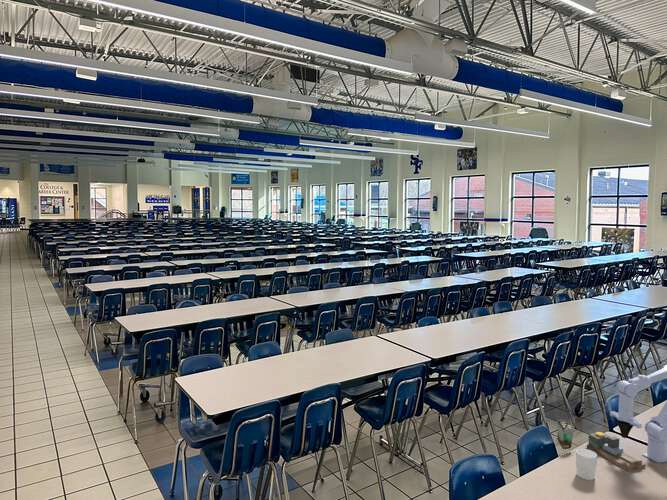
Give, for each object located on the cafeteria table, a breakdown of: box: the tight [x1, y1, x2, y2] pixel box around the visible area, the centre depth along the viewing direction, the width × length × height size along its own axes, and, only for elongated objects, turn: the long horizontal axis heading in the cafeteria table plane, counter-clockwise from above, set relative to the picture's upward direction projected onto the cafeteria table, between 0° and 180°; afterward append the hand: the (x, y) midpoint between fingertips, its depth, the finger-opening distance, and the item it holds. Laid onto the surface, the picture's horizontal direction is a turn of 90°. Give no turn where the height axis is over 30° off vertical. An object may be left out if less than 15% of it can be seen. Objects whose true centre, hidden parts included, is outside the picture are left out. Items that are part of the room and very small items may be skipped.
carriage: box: [603, 435, 624, 456], centre depth 219 cm, size 5×6×7 cm
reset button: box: [594, 431, 606, 437], centre depth 226 cm, size 4×4×5 cm
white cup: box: [575, 448, 598, 481], centre depth 201 cm, size 8×8×10 cm
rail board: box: [586, 431, 646, 472], centre depth 218 cm, size 10×22×6 cm, turn 18°
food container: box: [556, 419, 576, 450], centre depth 229 cm, size 12×6×10 cm, turn 168°
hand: (624, 437), depth 217 cm, fingers closed
